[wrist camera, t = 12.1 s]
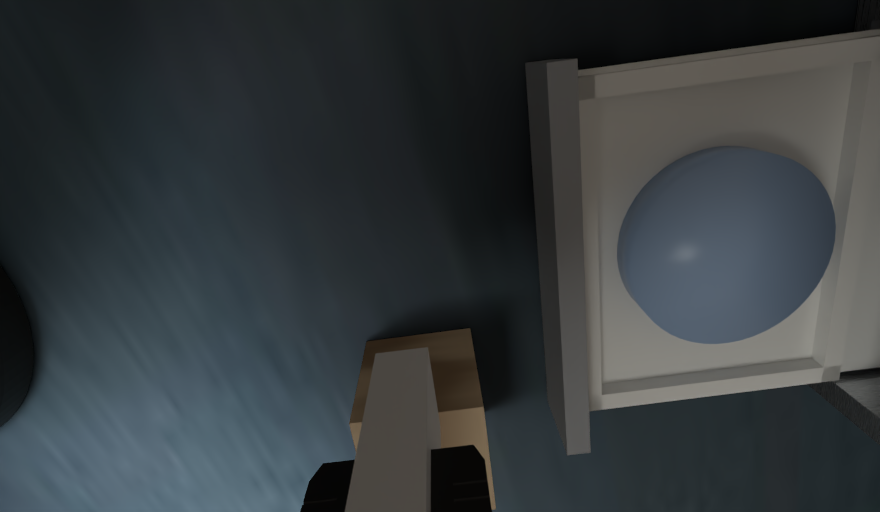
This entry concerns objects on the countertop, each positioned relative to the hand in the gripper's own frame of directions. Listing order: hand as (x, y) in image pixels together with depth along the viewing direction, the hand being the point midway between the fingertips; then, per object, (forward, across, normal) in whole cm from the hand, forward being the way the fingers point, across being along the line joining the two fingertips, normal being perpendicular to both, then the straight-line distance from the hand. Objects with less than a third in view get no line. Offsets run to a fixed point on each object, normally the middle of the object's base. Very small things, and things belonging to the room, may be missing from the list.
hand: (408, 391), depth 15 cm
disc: (+8, +13, 0) cm, 15 cm away
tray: (+9, +14, 0) cm, 17 cm away
